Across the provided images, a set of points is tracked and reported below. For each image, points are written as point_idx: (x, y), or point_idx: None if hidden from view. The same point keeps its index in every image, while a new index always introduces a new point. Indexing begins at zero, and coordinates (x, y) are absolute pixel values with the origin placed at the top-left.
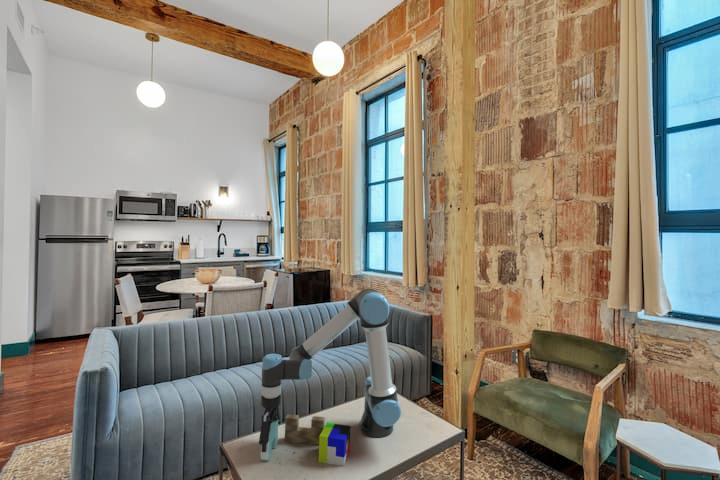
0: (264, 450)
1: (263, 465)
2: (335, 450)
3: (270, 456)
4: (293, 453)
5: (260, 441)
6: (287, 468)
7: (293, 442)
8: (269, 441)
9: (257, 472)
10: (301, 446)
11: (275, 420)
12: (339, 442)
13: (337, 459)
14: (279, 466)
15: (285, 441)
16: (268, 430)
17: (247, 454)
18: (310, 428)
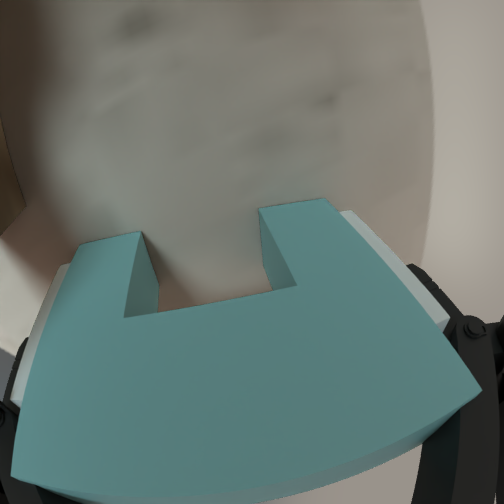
0: (427, 282)
1: (367, 212)
2: None
3: (283, 210)
4: (155, 23)
5: (502, 369)
6: (380, 20)
7: (2, 127)
8: (419, 321)
9: (422, 217)
10: (32, 21)
11: (51, 494)
12: None
13: None
14: (370, 87)
15: (22, 200)
16: (496, 455)
17: None
18: None
